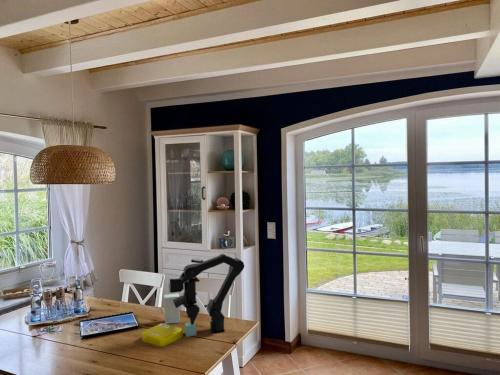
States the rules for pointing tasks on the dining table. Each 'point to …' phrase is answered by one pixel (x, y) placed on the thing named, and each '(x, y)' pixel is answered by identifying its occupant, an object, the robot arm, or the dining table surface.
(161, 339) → the element tile
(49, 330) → the dining table surface
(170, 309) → the skincare box
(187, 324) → the block
